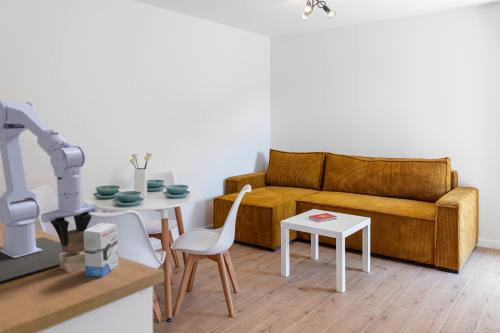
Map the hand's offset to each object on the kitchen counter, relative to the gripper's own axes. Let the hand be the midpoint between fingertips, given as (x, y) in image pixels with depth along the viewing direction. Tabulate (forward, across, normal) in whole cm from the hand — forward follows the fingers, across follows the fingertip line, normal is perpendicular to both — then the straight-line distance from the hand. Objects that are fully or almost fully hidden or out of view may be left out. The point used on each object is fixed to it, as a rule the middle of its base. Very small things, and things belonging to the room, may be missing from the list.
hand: (72, 243), depth 106 cm
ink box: (+7, +4, -8) cm, 11 cm away
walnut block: (+2, 0, 0) cm, 2 cm away
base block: (+7, 0, 0) cm, 7 cm away
